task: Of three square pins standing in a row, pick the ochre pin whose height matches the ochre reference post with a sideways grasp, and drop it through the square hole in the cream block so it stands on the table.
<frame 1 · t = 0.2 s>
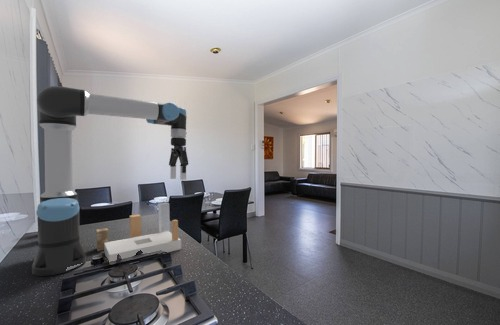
hand: (177, 179, 126), 27 cm above the countertop, tool pointing down, fingers open, 13 cm apart
pin long: (164, 236, 120), on the countertop
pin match: (135, 241, 112), on the countertop
pin short: (102, 248, 104), on the countertop
hole block: (143, 250, 101), on the countertop
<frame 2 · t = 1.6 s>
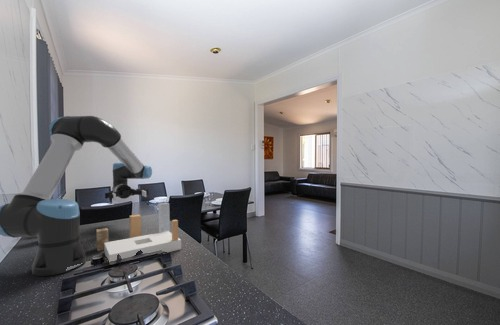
hand: (130, 195, 119), 20 cm above the countertop, tool horizontal, fingers open, 13 cm apart
nothing on the countertop moved.
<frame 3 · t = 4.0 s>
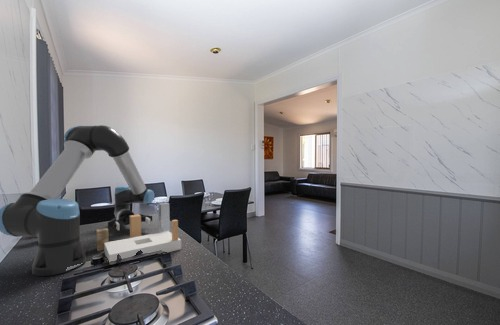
hand: (134, 224, 116), 7 cm above the countertop, tool horizontal, fingers open, 13 cm apart
nothing on the countertop moved.
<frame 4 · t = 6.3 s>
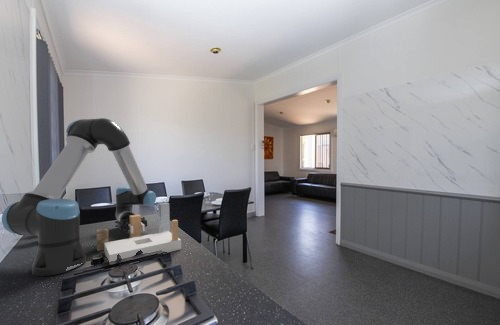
hand: (138, 229, 108), 7 cm above the countertop, tool horizontal, fingers closed on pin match, 4 cm apart
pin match: (135, 241, 112), on the countertop, touching gripper
everything else where it was.
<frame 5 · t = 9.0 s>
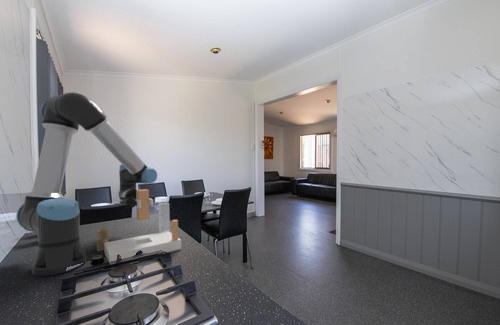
hand: (146, 203, 98), 20 cm above the countertop, tool horizontal, fingers closed on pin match, 4 cm apart
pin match: (142, 218, 102), point 13 cm above the countertop, touching gripper
everything else where it was.
when the fingers open (10 cm above the countertop, at t = 11.8 s): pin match drops 3 cm, resting in hole block.
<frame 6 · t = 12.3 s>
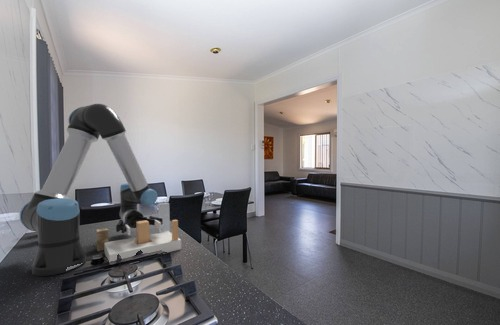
hand: (145, 228, 97), 10 cm above the countertop, tool horizontal, fingers open, 11 cm apart
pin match: (143, 250, 101), resting in hole block
everything else where it was.
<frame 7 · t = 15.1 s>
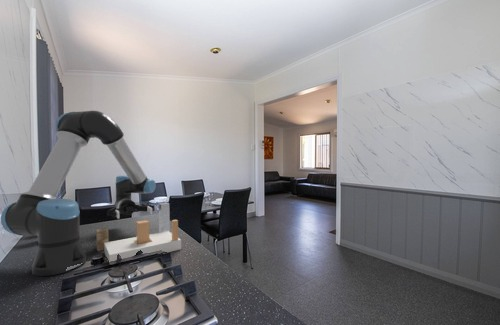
hand: (135, 213, 110), 14 cm above the countertop, tool horizontal, fingers open, 13 cm apart
nothing on the countertop moved.
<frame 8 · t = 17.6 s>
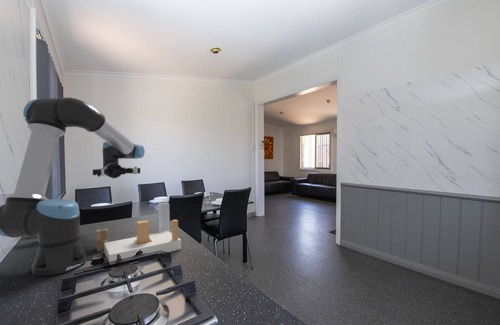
hand: (120, 172, 112), 32 cm above the countertop, tool horizontal, fingers open, 13 cm apart
nothing on the countertop moved.
at the end: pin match 0.0 cm off-centre on the hole block, point 0.0 cm above the hole block's base; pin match tilted 0°; the gripper is holding nothing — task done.
